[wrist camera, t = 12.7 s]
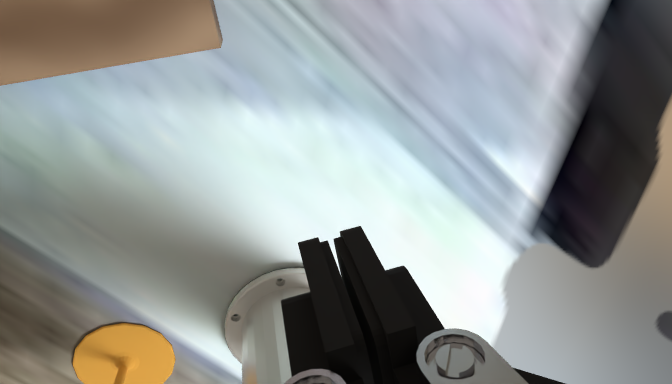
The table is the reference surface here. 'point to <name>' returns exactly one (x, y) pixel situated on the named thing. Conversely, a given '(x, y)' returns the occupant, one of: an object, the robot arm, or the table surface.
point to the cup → (124, 356)
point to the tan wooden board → (99, 34)
